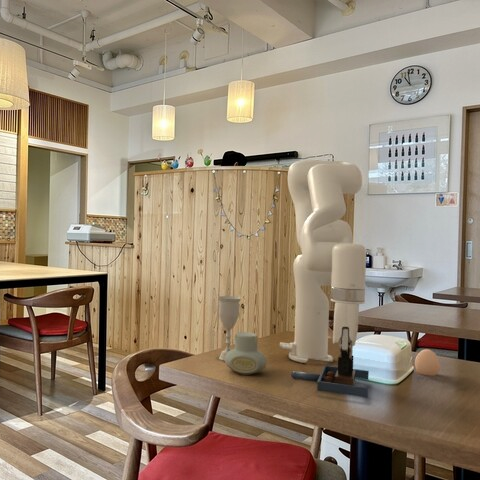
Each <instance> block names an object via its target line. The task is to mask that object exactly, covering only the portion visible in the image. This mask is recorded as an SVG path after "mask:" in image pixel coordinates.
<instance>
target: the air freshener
mask: <svg viewBox="0 0 480 480" xmlns="http://www.w3.org/2000/svg"><path fill="white" fill-rule="evenodd" d="M258 337H259V336H258V334H256V333H254V332H249V331H239V332H236V333H235V334H234V348H232V349H231V350H230V351H229V352H228V353H227V354H226V356H225V361H224V363H225V365H226V366H227V368H229V369H230V370H231V371H233V372H234V373H237V374H239V375H242V376H251V375H253V374H257V373H261V372H262V371H263V370H264V369H265V368H266V366H267V364H268V363H267V362H268V360H267V358H266V356H265V354H264V353H263V352H261V351H260V350H258Z"/></svg>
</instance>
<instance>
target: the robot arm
mask: <svg viewBox="0 0 480 480" xmlns="http://www.w3.org/2000/svg"><path fill="white" fill-rule="evenodd" d="M362 185H363V175H362V172H361V170H360V168H359V167H358V165H356V164H355V163H351V162H347V161H343V160H319V159H318V160H317V159H316V160H315V159H314V160H313V159H310V160H309V159H303V160H299V161H295V162H293V163H292V164H290V166H289V168H288V171H287V187H288V192H289V194H290V197H291V200H292V202H293V206H294V212H295V214H294V215H295V228H296V229H295V232H296V241H297V245H298V247H299V248H300V251H301V254H299V255H297V256H296V257H295V258H294V260H293V265H292V268H293V269H292V270H293V277H294V286H295V309H294V310H295V311H294V317H295V318H294V341H293V342H290V343H287V342H283V341H282V342H281V341H280V342H279V349H280V350H282V351H289V353H288V359H290V360H291V361H294V362H298V363H301V364H307V362H308V360H309V359H310V360H315V361H324V362H332V363H333V362H334V357H333V356H332V355H330V354H328V352H329V351H328V349H329V322H330V321H329V319H330V317H329V315H330V302H332V303H335V304H334V310H333V331H332V344H333V345H335V346H336V345H337V344H338V343H339V344H338V347H339V348H338V354H339V355H338V357H337V367H338V374H340V375H347V376H352V372H353V369H354V355H353V354H354V353H353V348H354V346H356V342H357V337H358V330H359V318H360V317H359V315H360V305H363V304H365V303H366V301H365V300H366V272H367V271H366V270H367V249H366V247H365V246H364V245H363V244H359V243H354V238H353V237H354V236H353V231H352V228H351V226H350V224H349V223H348V222H347V221H345V220H343V219H341V218H343V217H344V216H345V214H346V212H347V206H346V202H345V196H344V195H355V194H357V193H358V192H360V190H361V188H362ZM321 287H330V301H329V298H328V296H327V295H326V293H325V292H324V291H323V289H322V288H321Z"/></svg>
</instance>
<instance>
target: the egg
mask: <svg viewBox="0 0 480 480" xmlns="http://www.w3.org/2000/svg"><path fill="white" fill-rule="evenodd" d="M414 368H415V370H416V372H417V373H418V374H420V375H424V376H429V377H430V376H432V377H434V376H437V375H438V374H439V372H440V370H441V363H440V359H439V357H438V355H437V354H436V353H435V352H434V351H433V350H431V349H429V348H425V349H422V350H421V351H419V353H418V354H417V355H416V357H415V360H414Z"/></svg>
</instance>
